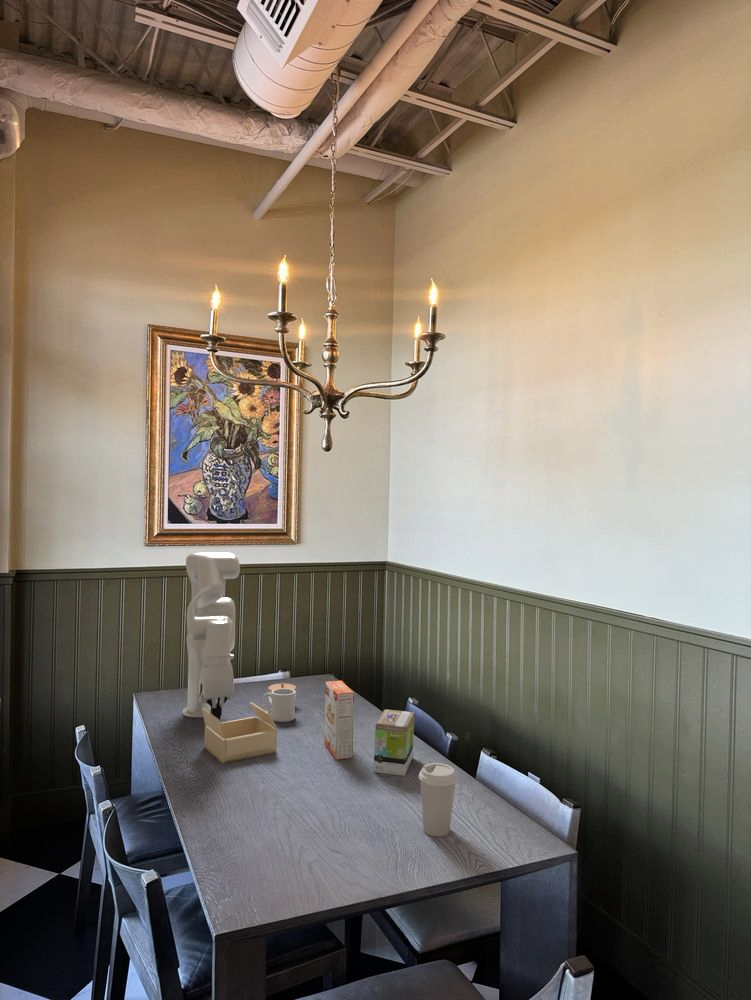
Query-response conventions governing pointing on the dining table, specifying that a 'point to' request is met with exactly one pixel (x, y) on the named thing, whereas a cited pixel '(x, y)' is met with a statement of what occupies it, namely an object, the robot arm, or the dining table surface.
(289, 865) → the dining table surface
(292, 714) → the mug
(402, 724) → the tea box
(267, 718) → the flap far
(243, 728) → the carton
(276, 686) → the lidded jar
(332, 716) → the cracker box
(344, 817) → the dining table surface
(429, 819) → the coffee cup
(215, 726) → the flap near
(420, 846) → the dining table surface
